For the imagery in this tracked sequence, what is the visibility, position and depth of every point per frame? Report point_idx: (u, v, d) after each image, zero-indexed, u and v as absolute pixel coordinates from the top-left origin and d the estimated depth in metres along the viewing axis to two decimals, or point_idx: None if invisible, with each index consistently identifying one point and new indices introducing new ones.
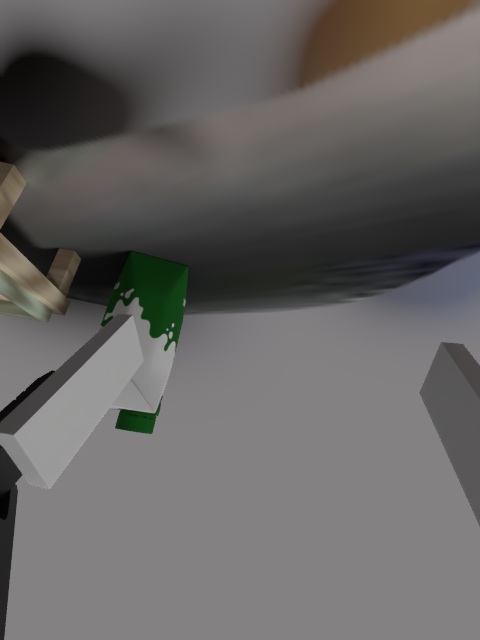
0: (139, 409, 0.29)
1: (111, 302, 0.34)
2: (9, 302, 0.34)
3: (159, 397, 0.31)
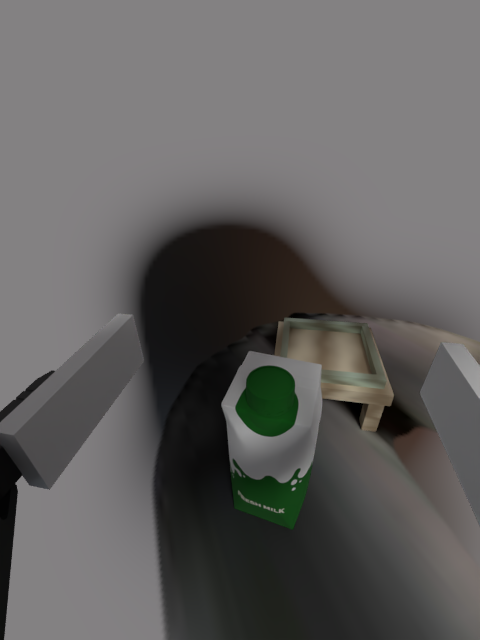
0: (314, 412, 0.23)
1: None
2: (287, 357, 0.44)
3: (301, 439, 0.23)
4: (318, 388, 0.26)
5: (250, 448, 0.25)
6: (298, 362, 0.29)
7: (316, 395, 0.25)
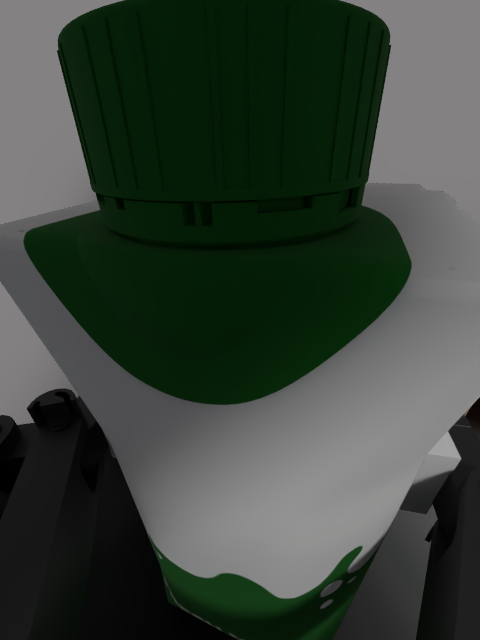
0: None
1: None
2: None
3: (429, 415, 0.03)
4: (452, 203, 0.06)
5: (146, 466, 0.06)
6: None
7: None
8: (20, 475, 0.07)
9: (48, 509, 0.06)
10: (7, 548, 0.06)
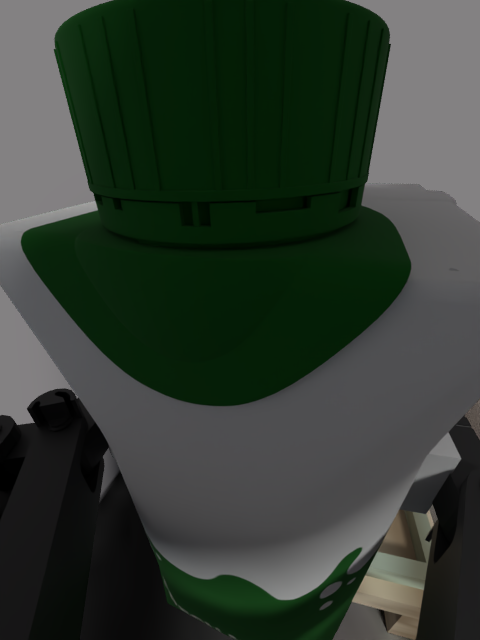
0: None
1: None
2: None
3: (429, 417, 0.03)
4: None
5: (145, 467, 0.06)
6: None
7: None
8: (20, 475, 0.07)
9: (48, 510, 0.06)
10: (7, 548, 0.06)
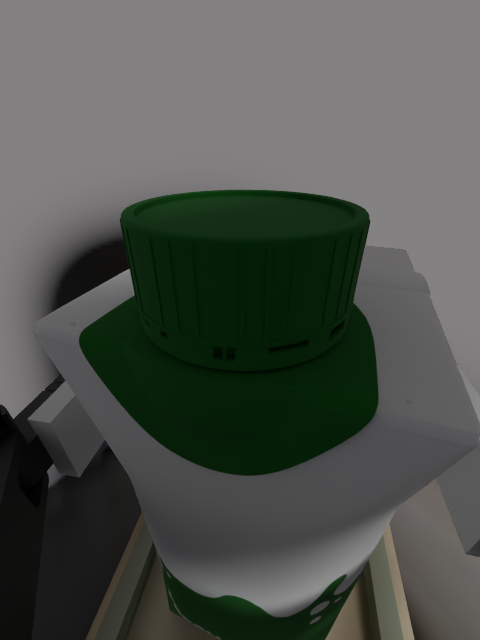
0: (454, 362, 0.05)
1: None
2: (142, 591, 0.16)
3: (393, 496, 0.04)
4: None
5: (166, 509, 0.07)
6: None
7: (431, 307, 0.06)
8: None
9: None
10: None
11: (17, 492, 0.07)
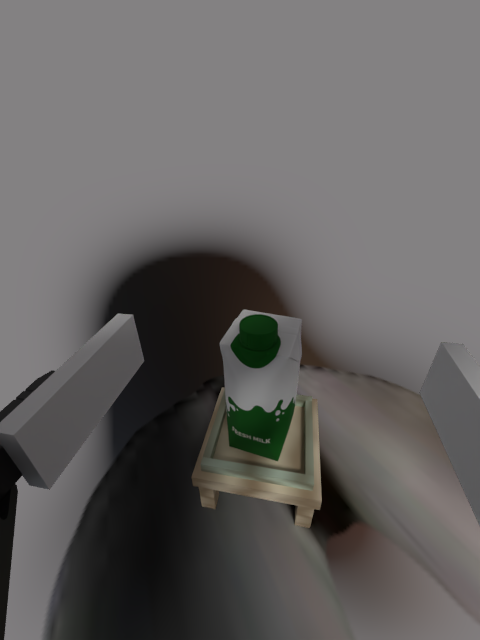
0: (292, 348, 0.30)
1: None
2: (217, 440, 0.41)
3: (281, 369, 0.29)
4: (297, 333, 0.32)
5: (242, 381, 0.32)
6: (283, 317, 0.35)
7: (295, 338, 0.31)
8: None
9: None
10: None
11: None
